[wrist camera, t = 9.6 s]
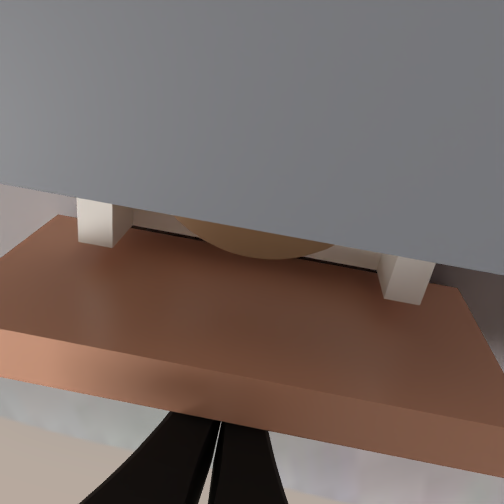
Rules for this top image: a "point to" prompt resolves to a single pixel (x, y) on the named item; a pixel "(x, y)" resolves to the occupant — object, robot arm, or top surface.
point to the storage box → (268, 116)
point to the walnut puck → (252, 240)
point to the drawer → (253, 337)
